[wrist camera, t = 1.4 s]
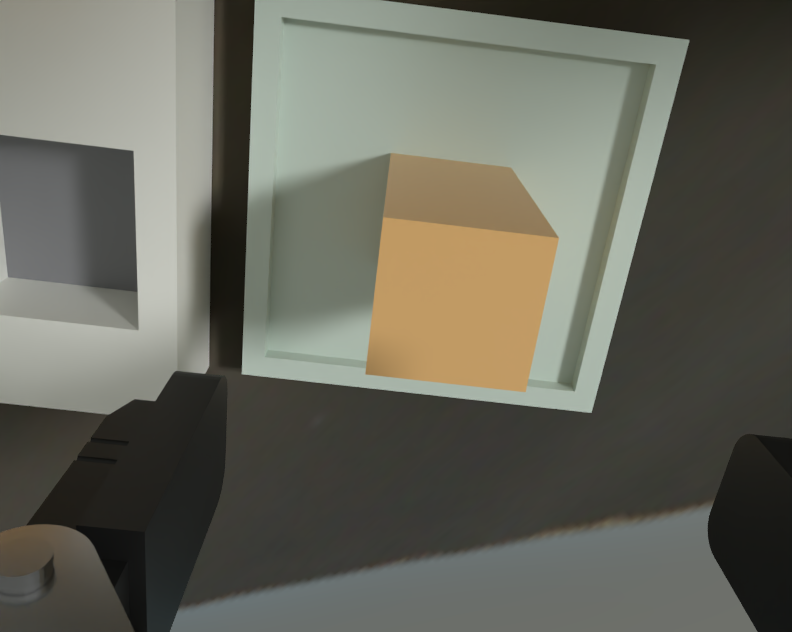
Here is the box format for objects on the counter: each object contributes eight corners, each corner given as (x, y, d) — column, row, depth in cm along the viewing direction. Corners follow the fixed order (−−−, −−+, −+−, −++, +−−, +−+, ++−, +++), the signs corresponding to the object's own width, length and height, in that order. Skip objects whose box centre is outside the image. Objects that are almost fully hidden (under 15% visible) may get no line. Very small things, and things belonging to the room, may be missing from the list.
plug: (511, 167, 23) (559, 238, 16) (490, 280, 25) (525, 392, 17) (390, 152, 23) (382, 217, 16) (377, 267, 25) (365, 374, 17)
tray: (675, 38, 22) (689, 40, 21) (584, 396, 27) (591, 412, 26) (263, -15, 22) (255, -16, 21) (248, 359, 27) (241, 373, 26)
